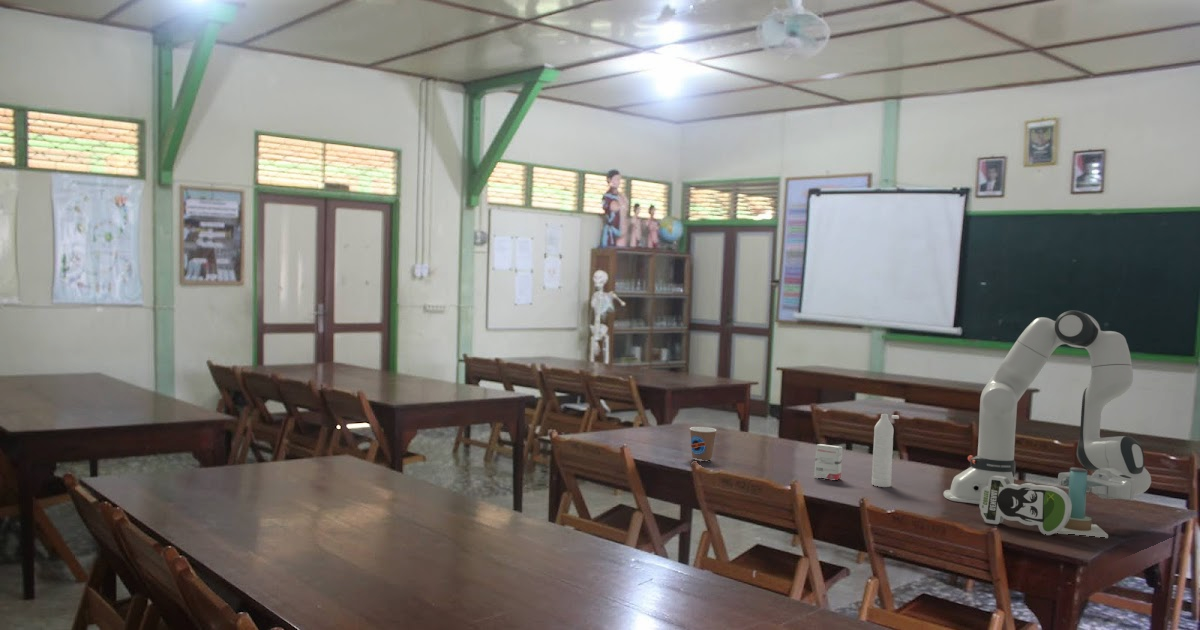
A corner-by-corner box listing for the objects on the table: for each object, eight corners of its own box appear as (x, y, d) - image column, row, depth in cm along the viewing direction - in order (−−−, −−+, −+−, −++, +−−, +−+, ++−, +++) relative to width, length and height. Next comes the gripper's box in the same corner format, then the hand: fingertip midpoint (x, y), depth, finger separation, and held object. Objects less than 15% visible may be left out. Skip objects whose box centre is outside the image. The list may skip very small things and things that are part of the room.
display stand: (1054, 533, 270) (1055, 519, 270) (1044, 523, 282) (1045, 509, 281) (1107, 538, 267) (1108, 524, 266) (1096, 527, 278) (1096, 514, 278)
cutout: (978, 475, 281) (1067, 483, 264) (982, 474, 283) (1071, 482, 266) (979, 526, 281) (1069, 537, 264) (983, 524, 283) (1072, 536, 266)
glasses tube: (1069, 517, 272) (1072, 469, 272) (1065, 514, 277) (1068, 466, 276) (1086, 519, 271) (1089, 471, 271) (1082, 515, 276) (1085, 468, 275)
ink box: (841, 479, 336) (843, 446, 335) (837, 481, 331) (838, 447, 331) (818, 475, 340) (819, 443, 340) (813, 478, 336) (814, 444, 336)
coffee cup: (683, 459, 362) (684, 428, 361) (698, 456, 369) (699, 426, 369) (705, 463, 355) (706, 431, 355) (720, 460, 363) (721, 429, 362)
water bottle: (867, 484, 328) (871, 413, 327) (878, 482, 332) (882, 412, 331) (889, 489, 321) (893, 416, 320) (900, 487, 325) (904, 415, 324)
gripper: (1076, 466, 289) (1045, 468, 282) (1140, 479, 270) (1109, 482, 264) (1074, 486, 289) (1044, 489, 283) (1138, 501, 271) (1107, 505, 264)
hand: (1076, 486), depth 273 cm, fingers open, 8 cm apart
